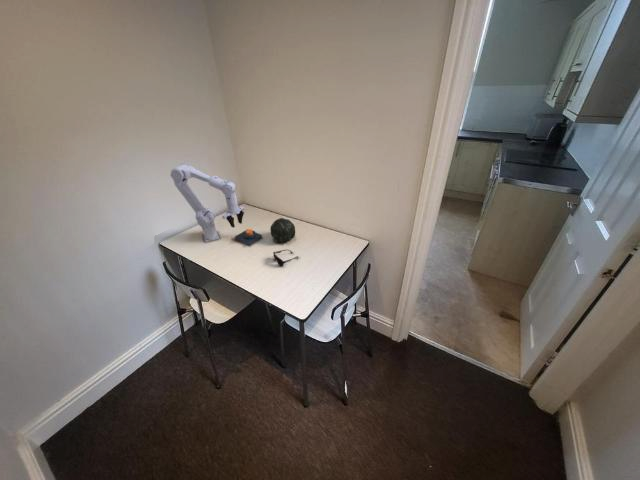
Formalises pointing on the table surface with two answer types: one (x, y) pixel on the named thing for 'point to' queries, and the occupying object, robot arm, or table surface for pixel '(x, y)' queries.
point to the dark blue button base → (248, 238)
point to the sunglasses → (280, 259)
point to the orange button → (249, 232)
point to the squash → (282, 230)
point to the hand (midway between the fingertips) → (236, 225)
